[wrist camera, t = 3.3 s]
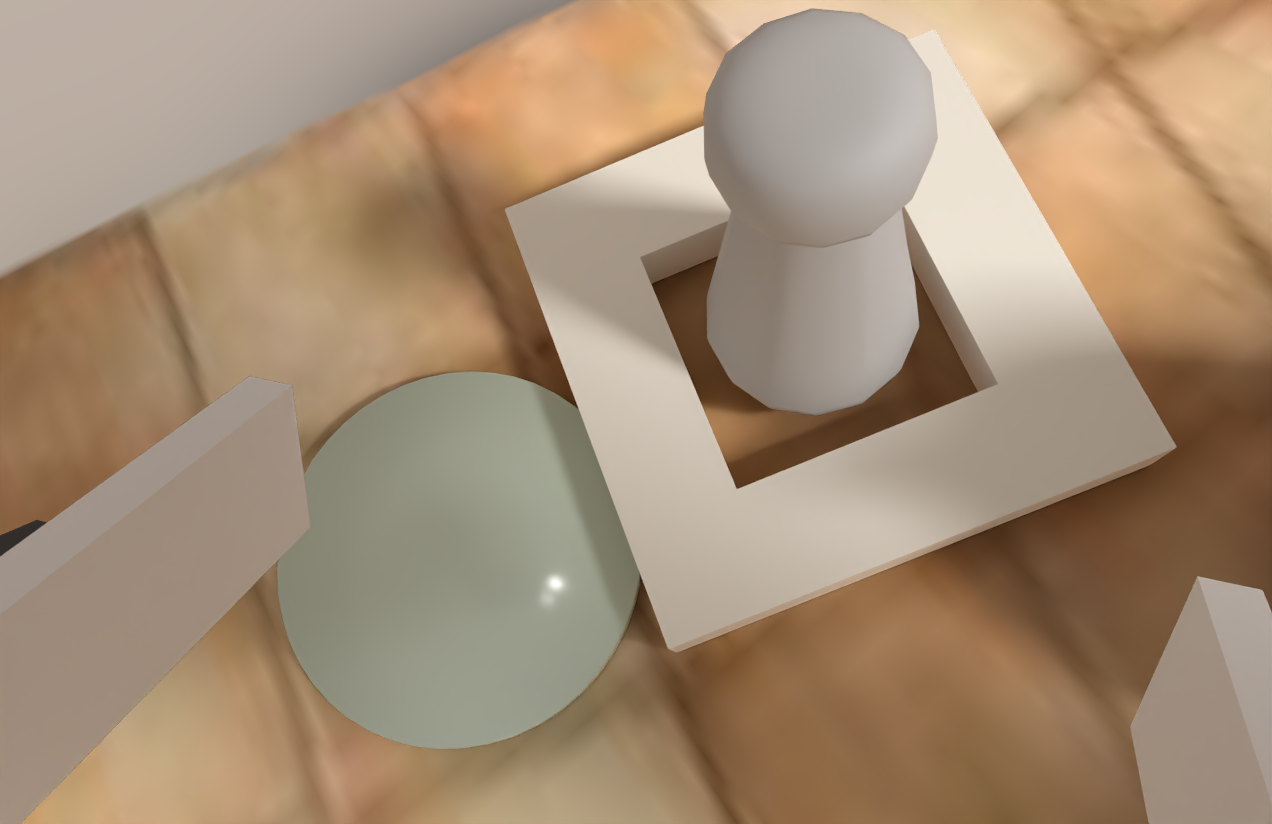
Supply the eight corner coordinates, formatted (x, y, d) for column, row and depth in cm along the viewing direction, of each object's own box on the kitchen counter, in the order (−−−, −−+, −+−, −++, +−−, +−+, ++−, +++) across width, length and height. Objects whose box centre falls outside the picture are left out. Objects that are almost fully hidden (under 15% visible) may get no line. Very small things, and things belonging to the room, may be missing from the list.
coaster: (571, 324, 31) (566, 317, 30) (700, 663, 27) (698, 662, 27) (250, 456, 31) (240, 452, 31) (338, 806, 28) (328, 808, 27)
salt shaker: (680, 307, 31) (601, 40, 18) (845, 221, 30) (878, -105, 18) (770, 470, 29) (750, 296, 16) (947, 379, 29) (1059, 135, 16)
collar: (925, 69, 32) (934, 28, 30) (1150, 464, 27) (1176, 446, 25) (521, 238, 32) (504, 209, 30) (677, 652, 28) (668, 649, 26)
